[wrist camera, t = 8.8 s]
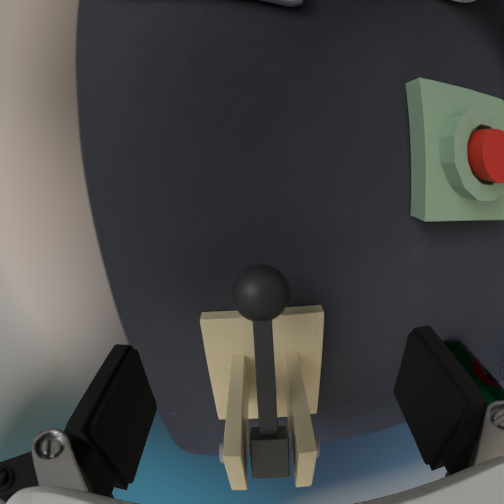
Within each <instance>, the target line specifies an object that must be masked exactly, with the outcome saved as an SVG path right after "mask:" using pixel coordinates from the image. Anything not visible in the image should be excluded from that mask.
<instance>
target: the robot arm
mask: <svg viewBox="0 0 504 504" xmlns="http://www.w3.org/2000/svg"><path fill="white" fill-rule="evenodd" d="M453 1H457V2H462V3H470V2H474V1H476V0H453ZM394 395H395V398H396V400H397V402H398V404H399V406H400V408H401V411H402V413H403V415H404V417H405V419H406V422H407V424H408V426H409V428H410V430H411V433H412V435H413V437H414V439H415V441H416V444H417V446H418V449H419V451H420V453H421V456H422V458H423V460H424V462H425V464H427V465H428V464H429V465H430V467H431V470H432V471H433V470H435V469H438V468H441V467H443V466H445V468H446V470H447V473H446V475H445V477H444V478H441V479H439V480H436V481H433V482H431V483H428V484H425V485H422V486H419V487H416V488H413V489H409V490H407V491H403V492H400V493H396V494H392V495H389V496H385V497H381V498H377V499H373V500H369V501H364V502H360V503H355V504H504V400H497V401H494V402H492V403H490V404H489V406H488V404H487V403H486V400H487V399H486V397H485V396H484V394H483V393H482V392H481V390H480V389H479V388H478V386H477V385H476V383H475V382H474V381H473V379H472V378H471V377H470V375H469V374H468V373H467V372H466V370H465V369H464V368H463V366H462V365H461V364H460V362H459V361H458V360H457V359H456V357H455V356H454V355H453V354H452V352H451V351H450V350H449V349H448V347H447V346H446V345H445V344H444V342H443V341H442V340H441V339H440V338H439V336H438V335H437V334H436V333H435V332H434V330H433V329H432V328H431V327H430V326H423V327H417V328H414V329H413V330H412V333H409V335H408V338H407V342H406V346H405V351H404V355H403V358H402V362H401V366H400V370H399V373H398V377H397V380H396V384H395V387H394ZM156 408H157V405H156V401H155V398H154V396H153V393H152V390H151V388H150V385H149V382H148V379H147V377H146V374H145V371H144V368H143V365H142V362H141V359H140V356H139V353H138V351H137V350H136V349H134V348H133V347H132V346H131V345H119V344H117V345H115V346H114V347H113V349H112V350H111V352H110V353H109V355H108V356H107V358H106V360H105V361H104V363H103V364H102V366H101V368H100V369H99V371H98V372H97V374H96V376H95V377H94V379H93V380H92V382H91V384H90V385H89V387H88V389H87V391H86V392H85V394H84V396H83V397H82V399H81V400H80V402H79V404H78V406H77V407H76V409H75V411H74V413H73V414H72V416H71V418H70V419H69V421H68V423H67V425H66V428H65V430H64V432H63V431H62V430H59V429H53V428H51V429H46V430H43V431H41V432H40V433H39V434H37V435H36V436H35V438H34V439H33V441H32V444H31V452H28V453H25V454H23V455H20V456H17V457H14V458H11V459H8V460H5V461H2V462H0V504H138V503H133V502H128V501H123V500H119V499H115V498H114V497H113V495H112V491H113V488H114V487H116V488H120V489H124V490H127V487H128V484H129V483H132V482H133V481H134V478H135V475H136V472H137V468H138V465H139V462H140V459H141V456H142V453H143V450H144V446H145V443H146V440H147V437H148V434H149V431H150V428H151V425H152V422H153V419H154V416H155V413H156Z"/></svg>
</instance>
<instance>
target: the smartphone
mask: <svg viewBox="0 0 504 504" xmlns="http://www.w3.org/2000/svg"><path fill="white" fill-rule="evenodd" d="M260 1H265V2H270V3H275V4H279V5H284V6H288V7H296V6H299V5H302V3H303V0H260Z"/></svg>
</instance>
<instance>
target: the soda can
mask: <svg viewBox="0 0 504 504" xmlns="http://www.w3.org/2000/svg"><path fill="white" fill-rule="evenodd" d="M445 345H446V346H447V347H448V349H449V350H450V351H451V352H452V354H453V355H454V356H455V357H456V359H457V360H458V361H459V362H460V364H461V365H462V366H463V368H464V369H465V370H466V372H467V373H468V374H469V375H470V377H471V378H472V379H473V381H474V382H475V383H476V385H477V386H478V388H479V389H480V390H481V392H482V393H483V394H484V396H485V397H486V399H487V400H486V403H487V404H488V406H489V404H490V403H492V402H494V401H497V400H504V388H503V387H502V386H501V385H500V384H499V383H498V381H497V380H496V379H495V378H494V377H493V376H492V375H491V373H490V372H489V371H488V370H487V369H486V368H485V367H484V366H483V364H482V363H481V362H480V361H479V360H478V359H477V358H476V357H475V356H474V355H473V353H472V352H471V351H470V350H469V349H468V348H467V347H466V346H465V345H464V344H463V343H462V342H460V341H451V342H448V343H445Z"/></svg>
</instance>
